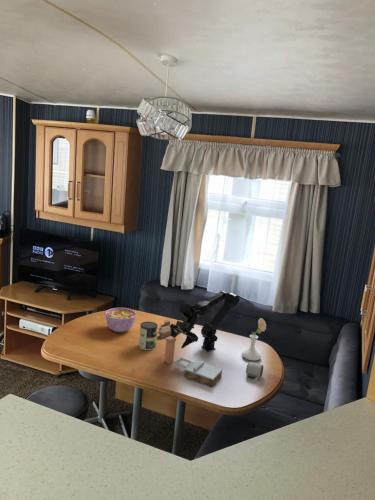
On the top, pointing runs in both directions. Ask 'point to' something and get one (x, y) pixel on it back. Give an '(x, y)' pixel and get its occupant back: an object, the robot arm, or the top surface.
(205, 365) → the lid
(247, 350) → the flower in vase
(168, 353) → the salmon brown tall block
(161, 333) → the wooden block set
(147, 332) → the coffee can
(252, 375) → the ceramic mug
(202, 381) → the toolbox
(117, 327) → the bowl of food
